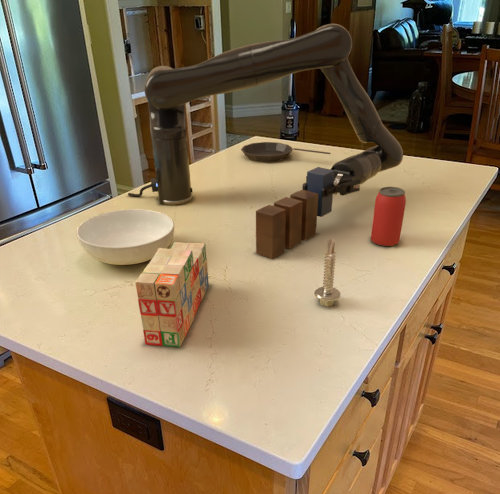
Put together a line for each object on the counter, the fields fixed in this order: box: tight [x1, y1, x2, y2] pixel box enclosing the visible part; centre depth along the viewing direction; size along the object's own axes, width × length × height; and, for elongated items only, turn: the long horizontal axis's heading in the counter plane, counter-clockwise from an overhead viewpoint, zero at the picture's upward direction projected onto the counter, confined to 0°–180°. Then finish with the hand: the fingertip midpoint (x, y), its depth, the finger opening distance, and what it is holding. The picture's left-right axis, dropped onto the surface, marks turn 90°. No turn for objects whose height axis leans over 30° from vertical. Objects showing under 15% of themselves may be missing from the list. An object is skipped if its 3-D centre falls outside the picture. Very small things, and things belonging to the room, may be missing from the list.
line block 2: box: [273, 196, 303, 250], centre depth 116 cm, size 5×5×10 cm
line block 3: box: [289, 189, 318, 241], centre depth 120 cm, size 5×5×10 cm
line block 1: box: [255, 204, 286, 260], centre depth 112 cm, size 5×5×10 cm
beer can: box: [370, 186, 407, 247], centre depth 116 cm, size 7×7×12 cm
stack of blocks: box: [135, 241, 210, 348], centre depth 91 cm, size 21×6×12 cm, turn 171°
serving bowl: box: [76, 208, 175, 266], centre depth 113 cm, size 21×21×7 cm
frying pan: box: [240, 141, 331, 163], centre depth 174 cm, size 18×32×4 cm, turn 62°
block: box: [306, 166, 334, 218], centre depth 122 cm, size 5×5×10 cm
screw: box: [313, 239, 342, 307], centre depth 93 cm, size 13×5×5 cm
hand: (313, 191), depth 120 cm, fingers closed on block, 4 cm apart
